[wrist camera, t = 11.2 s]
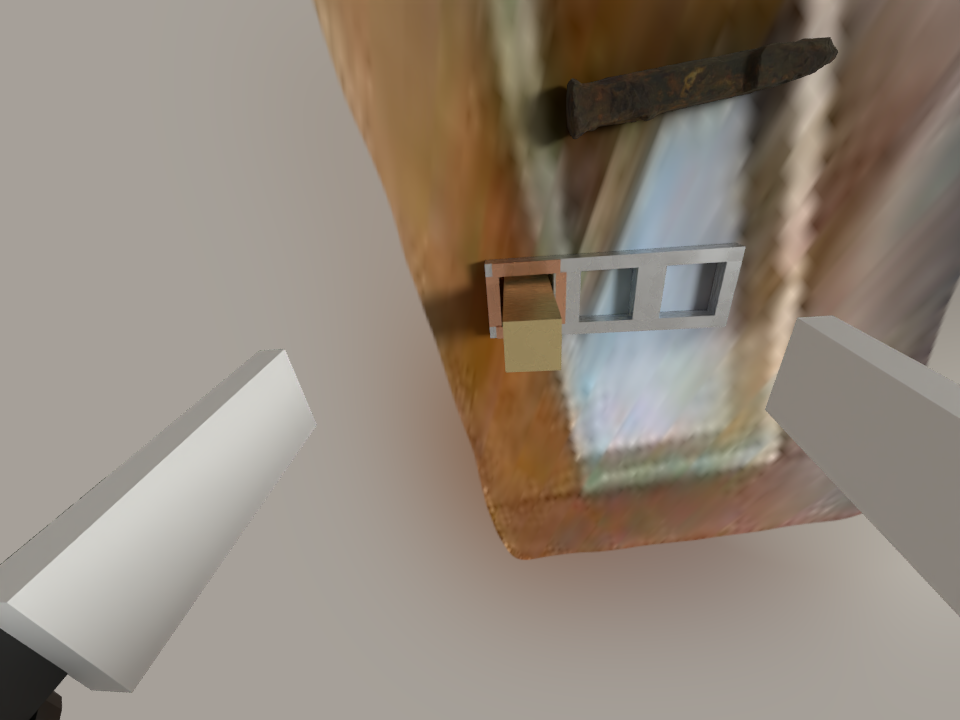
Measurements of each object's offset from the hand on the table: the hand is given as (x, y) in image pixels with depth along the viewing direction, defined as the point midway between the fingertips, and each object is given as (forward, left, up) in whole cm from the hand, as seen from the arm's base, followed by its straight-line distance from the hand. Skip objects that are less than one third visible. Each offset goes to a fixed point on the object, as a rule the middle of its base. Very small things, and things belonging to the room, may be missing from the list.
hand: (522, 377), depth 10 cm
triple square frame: (+8, +9, -29) cm, 32 cm away
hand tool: (-10, +14, -30) cm, 34 cm away
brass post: (+8, +1, -29) cm, 30 cm away
